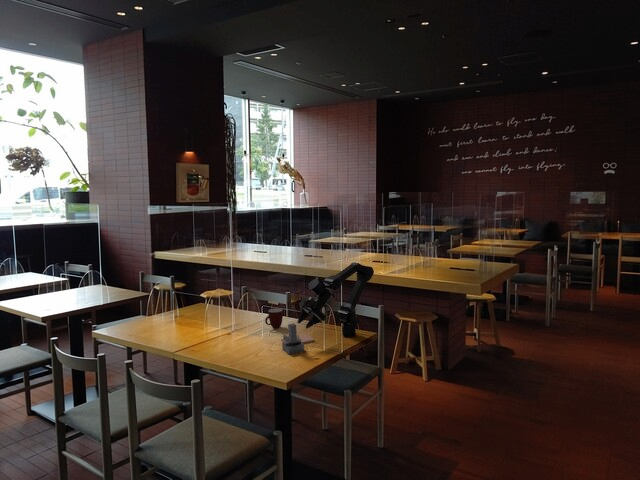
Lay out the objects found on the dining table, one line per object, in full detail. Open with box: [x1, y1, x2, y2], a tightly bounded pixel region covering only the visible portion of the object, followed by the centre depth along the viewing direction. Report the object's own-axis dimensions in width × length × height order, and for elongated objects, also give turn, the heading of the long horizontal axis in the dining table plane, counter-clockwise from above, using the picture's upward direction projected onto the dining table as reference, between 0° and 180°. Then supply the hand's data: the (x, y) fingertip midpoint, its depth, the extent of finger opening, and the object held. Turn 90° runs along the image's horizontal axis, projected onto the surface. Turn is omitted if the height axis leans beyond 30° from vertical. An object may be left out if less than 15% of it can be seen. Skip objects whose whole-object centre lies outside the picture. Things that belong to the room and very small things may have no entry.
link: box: [281, 323, 305, 356], centre depth 231 cm, size 8×8×13 cm
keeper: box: [280, 333, 315, 345], centre depth 245 cm, size 14×10×4 cm
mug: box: [264, 307, 284, 330], centre depth 267 cm, size 10×8×10 cm
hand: (302, 325), depth 233 cm, fingers open, 9 cm apart
